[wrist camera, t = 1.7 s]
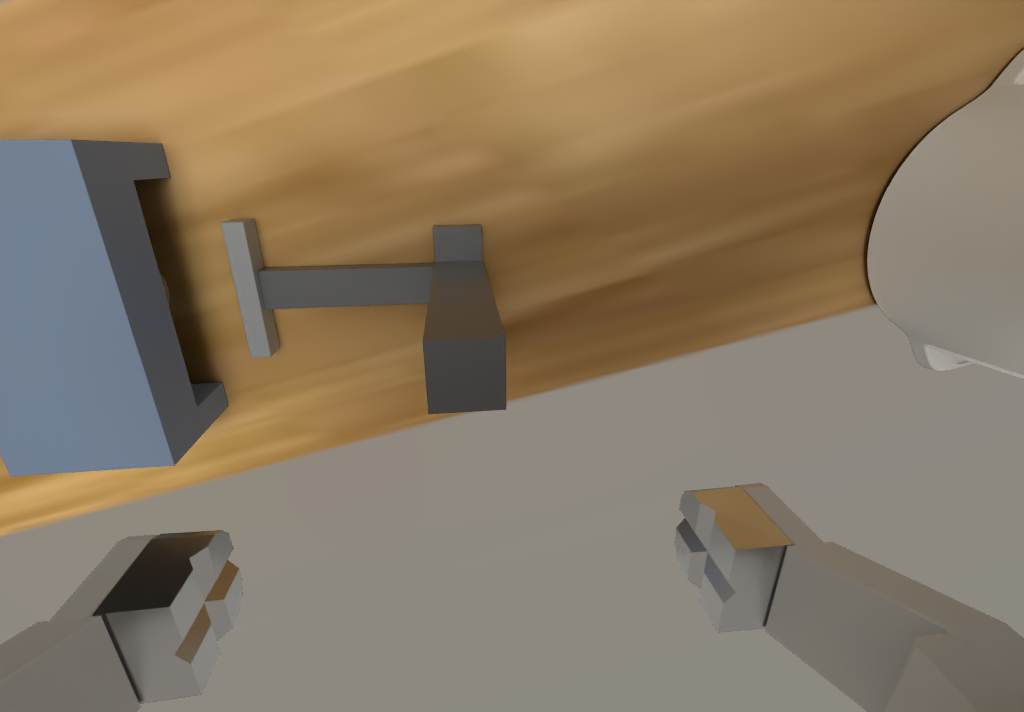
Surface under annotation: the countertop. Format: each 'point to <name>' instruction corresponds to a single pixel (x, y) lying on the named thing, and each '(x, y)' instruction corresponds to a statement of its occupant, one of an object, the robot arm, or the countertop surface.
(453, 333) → the scraper
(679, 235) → the countertop surface
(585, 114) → the countertop surface
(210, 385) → the blue-grey bridge block
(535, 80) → the countertop surface
